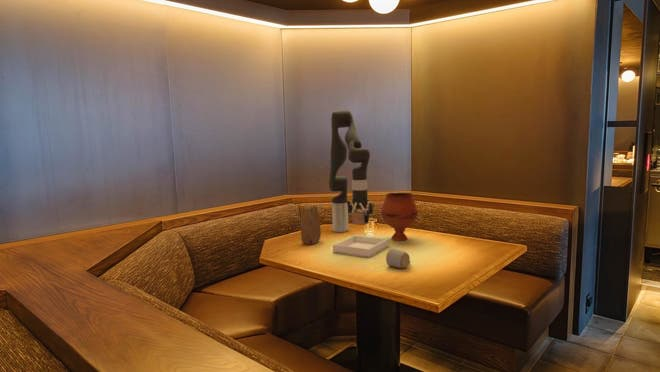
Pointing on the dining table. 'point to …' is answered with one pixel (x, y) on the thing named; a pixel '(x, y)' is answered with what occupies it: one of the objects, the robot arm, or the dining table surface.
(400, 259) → the grey barrel
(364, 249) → the tray
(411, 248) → the dining table surface
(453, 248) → the dining table surface
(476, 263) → the dining table surface
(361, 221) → the cube
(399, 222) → the goblet
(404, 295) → the dining table surface
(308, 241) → the block
